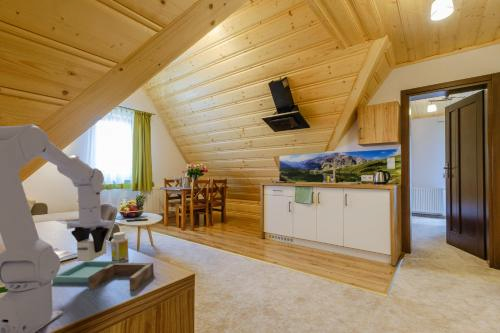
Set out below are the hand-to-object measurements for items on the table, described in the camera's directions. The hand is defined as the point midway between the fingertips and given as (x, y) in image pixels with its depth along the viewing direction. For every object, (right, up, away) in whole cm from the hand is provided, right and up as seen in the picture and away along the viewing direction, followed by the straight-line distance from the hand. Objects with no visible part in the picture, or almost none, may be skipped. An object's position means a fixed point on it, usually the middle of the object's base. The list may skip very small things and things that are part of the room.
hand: (91, 251), depth 77 cm
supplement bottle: (0, -9, +16) cm, 19 cm away
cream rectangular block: (0, -2, 0) cm, 2 cm away
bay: (+10, -9, -2) cm, 13 cm away
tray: (-4, -9, +5) cm, 11 cm away
